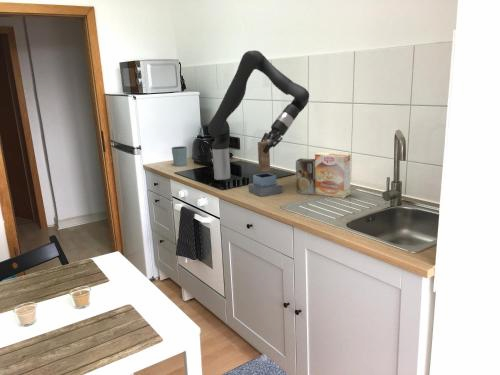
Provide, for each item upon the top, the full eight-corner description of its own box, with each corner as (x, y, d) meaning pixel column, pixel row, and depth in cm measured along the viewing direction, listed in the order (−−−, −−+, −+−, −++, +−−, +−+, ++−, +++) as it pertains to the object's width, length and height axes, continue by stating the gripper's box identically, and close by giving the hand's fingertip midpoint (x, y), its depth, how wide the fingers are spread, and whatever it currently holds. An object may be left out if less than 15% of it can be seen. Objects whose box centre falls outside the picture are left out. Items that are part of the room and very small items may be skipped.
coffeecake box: (314, 194, 202) (314, 153, 197) (321, 190, 208) (321, 151, 203) (344, 198, 193) (344, 156, 188) (350, 194, 199) (351, 153, 194)
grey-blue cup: (175, 163, 291) (173, 146, 288) (189, 163, 290) (188, 145, 287) (171, 166, 281) (169, 148, 278) (186, 166, 280) (184, 148, 277)
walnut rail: (258, 170, 208) (257, 142, 204) (266, 169, 210) (264, 141, 206) (263, 172, 204) (261, 143, 201) (270, 170, 206) (269, 142, 203)
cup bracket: (248, 191, 212) (247, 175, 210) (269, 187, 218) (268, 171, 215) (260, 197, 202) (260, 179, 200) (282, 192, 207) (281, 175, 205)
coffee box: (318, 191, 206) (318, 159, 202) (314, 195, 201) (313, 161, 197) (300, 190, 211) (300, 158, 207) (295, 193, 205) (295, 160, 201)
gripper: (269, 118, 211) (249, 145, 208) (285, 119, 199) (264, 148, 196) (279, 127, 214) (259, 154, 212) (295, 130, 202) (274, 158, 200)
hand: (261, 151), depth 204 cm, fingers closed on walnut rail, 4 cm apart
